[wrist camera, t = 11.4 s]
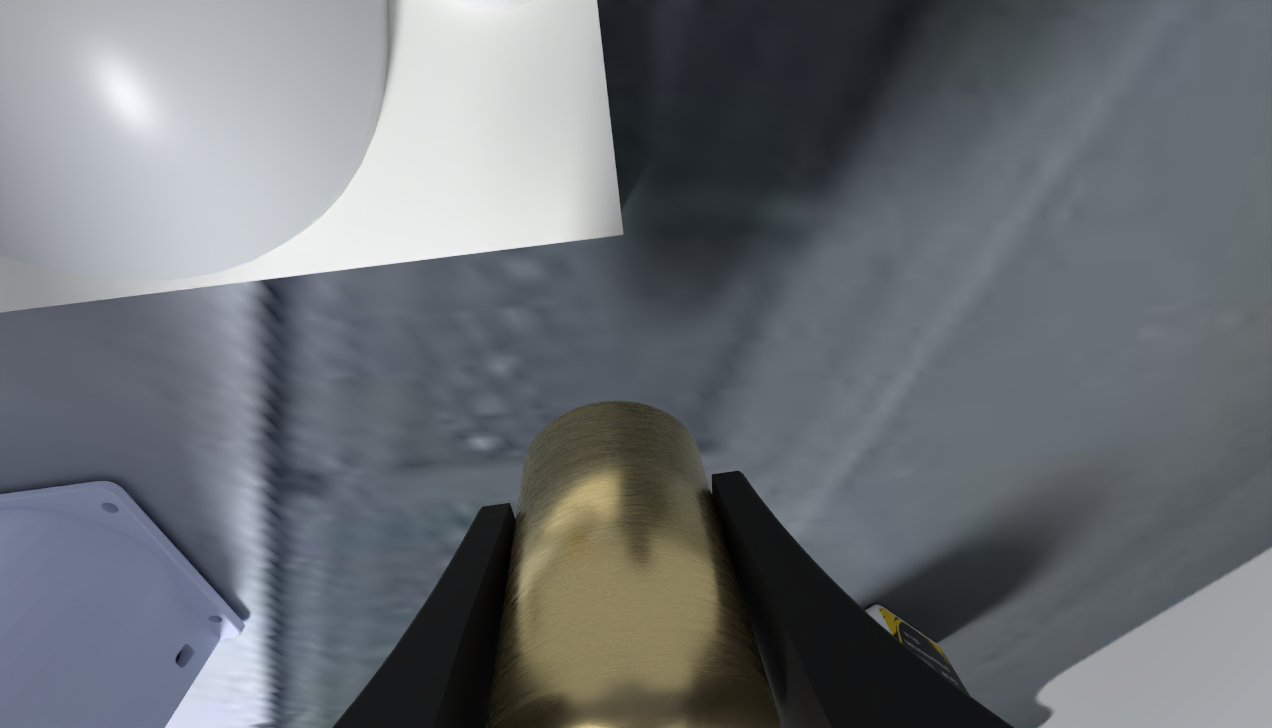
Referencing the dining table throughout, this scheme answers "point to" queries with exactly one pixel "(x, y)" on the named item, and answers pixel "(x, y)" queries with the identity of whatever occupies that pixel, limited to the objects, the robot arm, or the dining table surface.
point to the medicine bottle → (916, 643)
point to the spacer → (623, 586)
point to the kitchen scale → (291, 138)
